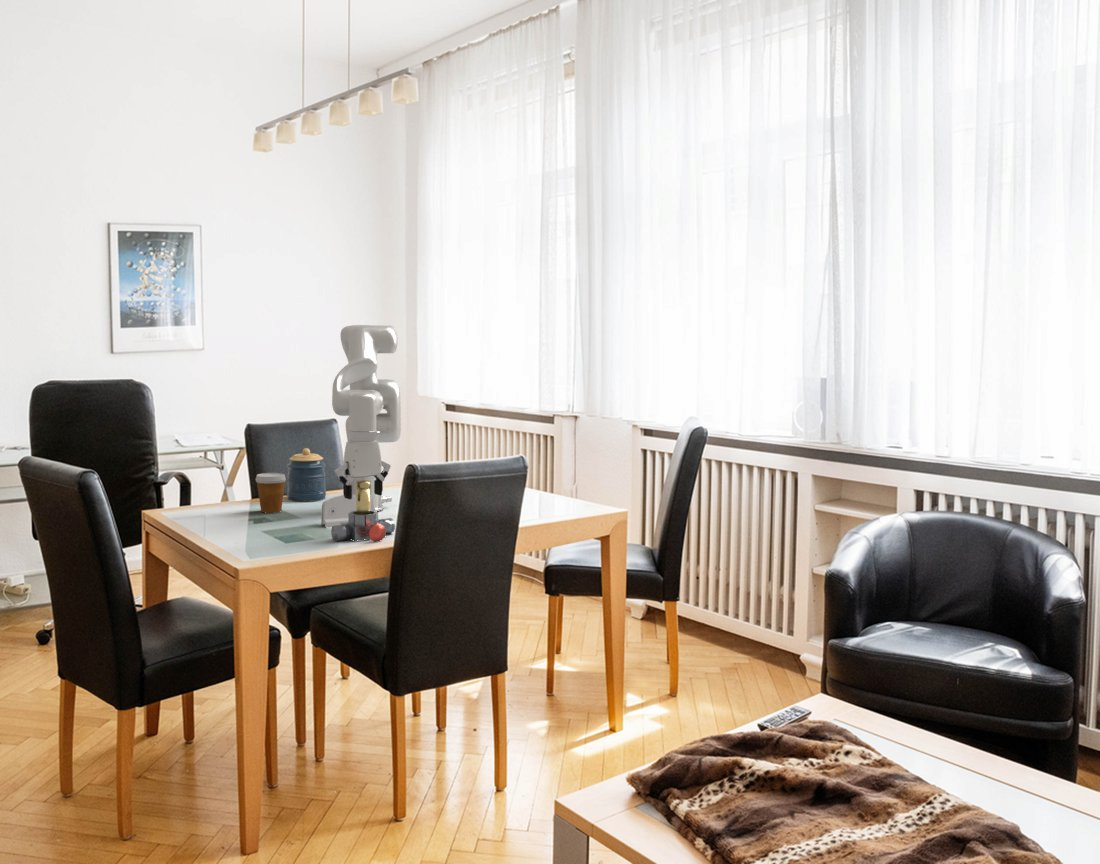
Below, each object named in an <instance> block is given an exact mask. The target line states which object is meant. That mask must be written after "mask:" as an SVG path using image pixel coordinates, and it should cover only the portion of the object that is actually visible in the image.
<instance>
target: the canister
mask: <svg viewBox="0 0 1100 864" xmlns="http://www.w3.org/2000/svg"><path fill="white" fill-rule="evenodd" d="M323 460H324V457H323V456H321V455H320V454H318V453H311V450H310V449H309V447H306V448H305V447H304V448H303V449H302V452H301V453H296V454H293V456H291V457H289V461H290V462H289V463H287V465H286V467H287V469H288V472H287V475H286V477H287V495H286V496H287V499H288V500H289V501H291V502H301V503H302V502H305V503H307V502H318V501H322V500H325V499H326V496H327V490H326V475H327V474H326V473H325V467H326V466H327V464H326V463H325V462H323Z"/></svg>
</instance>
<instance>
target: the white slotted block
mask: <svg viewBox="0 0 1100 864" xmlns="http://www.w3.org/2000/svg"><path fill="white" fill-rule="evenodd" d="M371 510H372V511H375V508H374V504H373V500H372V498H371ZM351 511H356V495H352V499H346V498H344V494H341V495H338V496H333V497H331V498H329V499H326V500H324V501H323V502H322V504H321V523H320V524H321V525H320V526H324V528H325V527H333V526H335V525H341V523H345V522H349V520H348V513H350V512H351Z"/></svg>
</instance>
